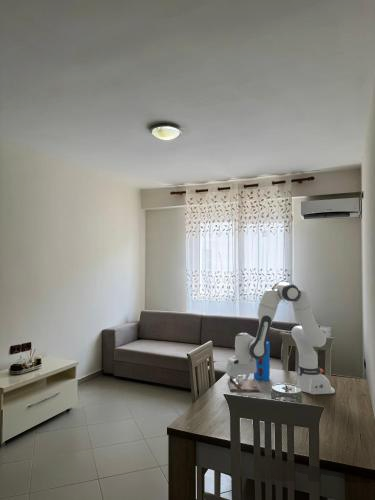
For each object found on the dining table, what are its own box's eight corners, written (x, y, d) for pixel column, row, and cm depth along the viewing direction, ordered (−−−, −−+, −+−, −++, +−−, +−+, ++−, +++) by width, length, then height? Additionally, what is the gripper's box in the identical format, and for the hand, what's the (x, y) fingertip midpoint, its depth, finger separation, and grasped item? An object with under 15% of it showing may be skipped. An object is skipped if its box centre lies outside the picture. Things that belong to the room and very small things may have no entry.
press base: (254, 381, 233) (254, 378, 234) (259, 392, 214) (259, 388, 215) (227, 381, 234) (227, 378, 234) (230, 391, 215) (230, 388, 215)
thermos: (252, 380, 236) (252, 343, 237) (254, 375, 247) (254, 339, 248) (269, 382, 233) (269, 344, 234) (270, 377, 243) (270, 341, 244)
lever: (228, 378, 233) (228, 368, 233) (234, 378, 234) (234, 367, 234) (237, 388, 215) (237, 376, 215) (243, 388, 215) (243, 376, 216)
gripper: (253, 356, 224) (253, 378, 224) (225, 359, 217) (224, 381, 216) (258, 359, 218) (258, 381, 218) (230, 361, 211) (229, 385, 210)
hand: (241, 381), depth 217 cm, fingers open, 5 cm apart
